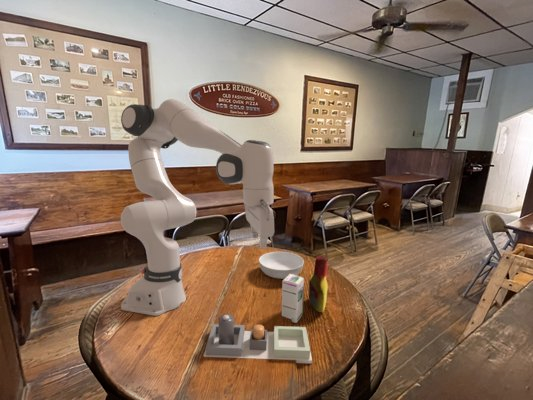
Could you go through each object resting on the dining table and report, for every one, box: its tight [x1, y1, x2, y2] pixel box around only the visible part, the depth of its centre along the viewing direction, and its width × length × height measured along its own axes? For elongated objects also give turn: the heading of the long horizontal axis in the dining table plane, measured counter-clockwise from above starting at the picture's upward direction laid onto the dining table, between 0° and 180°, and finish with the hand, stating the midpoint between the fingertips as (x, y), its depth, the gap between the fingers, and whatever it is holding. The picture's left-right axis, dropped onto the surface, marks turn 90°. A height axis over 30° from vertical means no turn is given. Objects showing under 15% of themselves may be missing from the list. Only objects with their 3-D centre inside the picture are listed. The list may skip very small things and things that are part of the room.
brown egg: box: [253, 324, 265, 340], centre depth 78 cm, size 3×3×4 cm
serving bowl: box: [258, 251, 305, 280], centre depth 124 cm, size 21×21×7 cm
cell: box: [217, 313, 235, 345], centre depth 78 cm, size 4×4×9 cm
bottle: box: [308, 255, 329, 313], centre depth 98 cm, size 12×6×20 cm, turn 178°
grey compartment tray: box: [203, 323, 313, 365], centre depth 79 cm, size 30×11×4 cm, turn 89°
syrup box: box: [281, 274, 305, 324], centre depth 92 cm, size 6×6×14 cm
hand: (258, 242), depth 81 cm, fingers open, 8 cm apart
